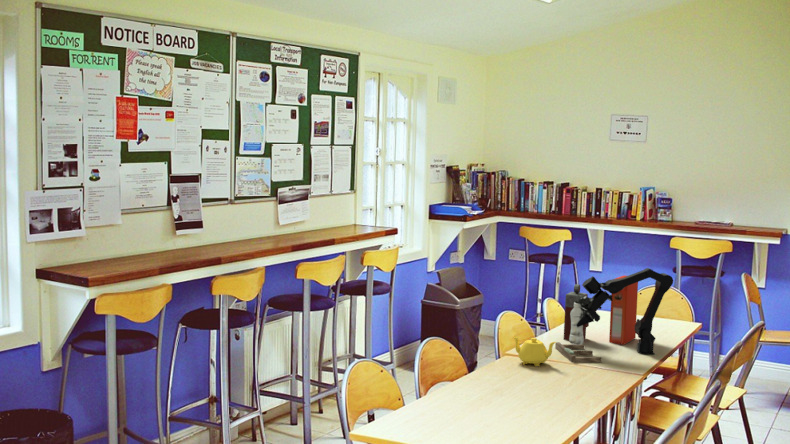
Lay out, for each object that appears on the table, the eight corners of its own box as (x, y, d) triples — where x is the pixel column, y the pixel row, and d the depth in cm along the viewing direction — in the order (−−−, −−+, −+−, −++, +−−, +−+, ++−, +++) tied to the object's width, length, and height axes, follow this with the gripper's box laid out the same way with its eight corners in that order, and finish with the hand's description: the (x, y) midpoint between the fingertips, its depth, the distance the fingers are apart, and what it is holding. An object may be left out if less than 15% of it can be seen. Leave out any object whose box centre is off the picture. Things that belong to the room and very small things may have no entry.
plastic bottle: (583, 346, 364) (585, 304, 362) (569, 345, 366) (570, 303, 364) (583, 343, 370) (585, 301, 369) (568, 342, 372) (570, 301, 370)
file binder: (608, 342, 389) (612, 279, 387) (619, 336, 404) (623, 275, 401) (624, 345, 385) (628, 281, 382) (635, 338, 399) (638, 277, 396)
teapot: (560, 362, 349) (561, 337, 348) (550, 370, 336) (551, 344, 335) (517, 356, 358) (518, 331, 357) (506, 363, 345) (507, 338, 344)
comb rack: (583, 348, 375) (583, 340, 375) (601, 362, 351) (601, 354, 351) (555, 348, 374) (555, 340, 374) (571, 362, 350) (571, 353, 350)
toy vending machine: (585, 342, 387) (588, 287, 385) (563, 339, 393) (566, 284, 390) (590, 339, 395) (593, 284, 393) (568, 336, 401) (571, 282, 398)
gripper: (578, 285, 375) (555, 308, 375) (594, 293, 357) (571, 317, 356) (592, 301, 378) (570, 324, 377) (610, 309, 359) (586, 333, 358)
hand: (574, 324), depth 367 cm, fingers closed on plastic bottle, 6 cm apart
